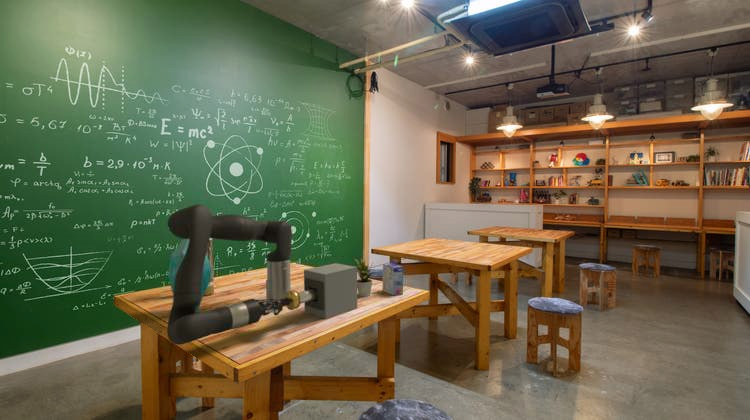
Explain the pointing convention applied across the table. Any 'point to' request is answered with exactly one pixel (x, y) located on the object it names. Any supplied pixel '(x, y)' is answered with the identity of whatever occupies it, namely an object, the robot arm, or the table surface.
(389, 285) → the ink cartridge box
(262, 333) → the table surface
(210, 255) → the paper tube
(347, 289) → the housing
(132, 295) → the table surface
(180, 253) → the crystal
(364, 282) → the house plant
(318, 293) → the collar
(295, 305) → the peg
